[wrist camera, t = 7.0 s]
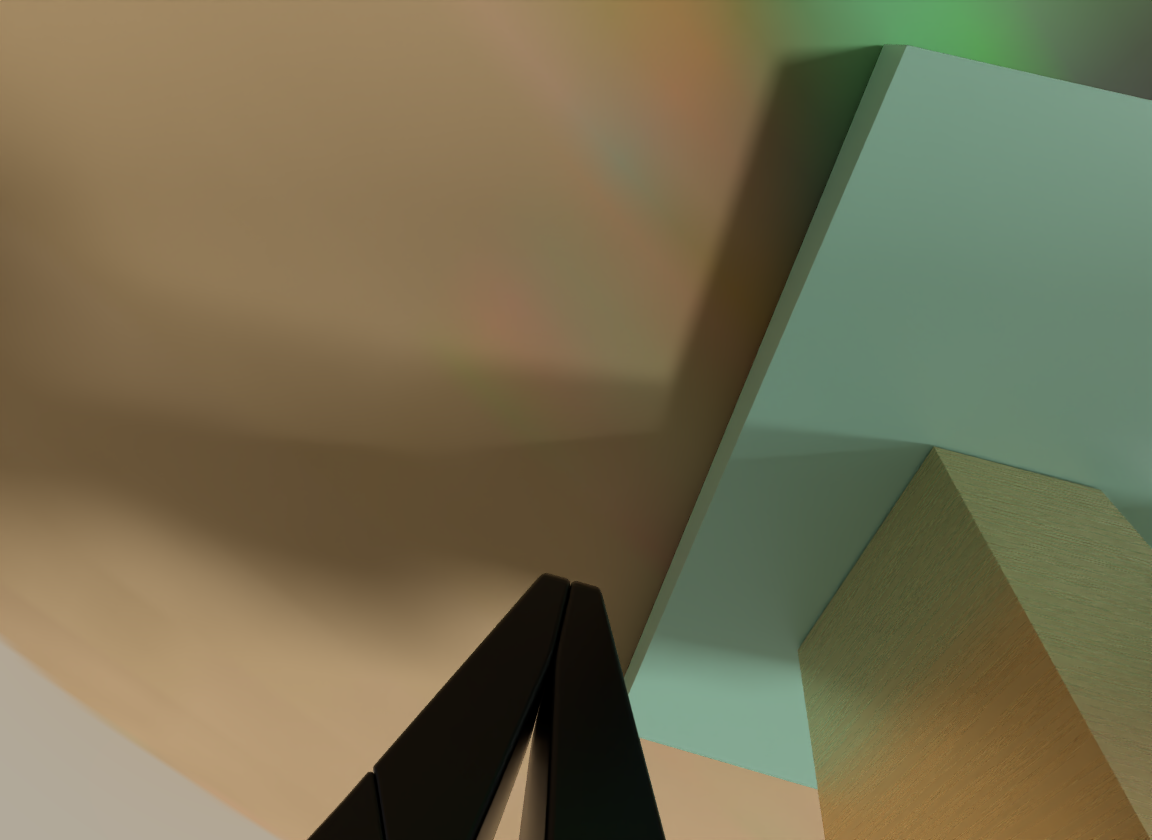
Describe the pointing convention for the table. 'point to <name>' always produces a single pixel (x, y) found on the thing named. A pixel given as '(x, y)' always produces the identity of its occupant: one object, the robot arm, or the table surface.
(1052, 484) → the block
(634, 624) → the table surface
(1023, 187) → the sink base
